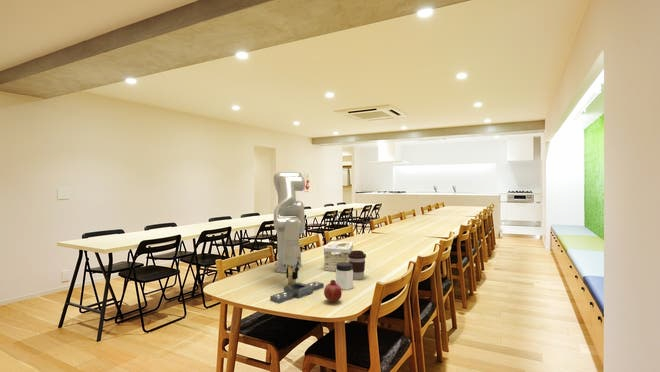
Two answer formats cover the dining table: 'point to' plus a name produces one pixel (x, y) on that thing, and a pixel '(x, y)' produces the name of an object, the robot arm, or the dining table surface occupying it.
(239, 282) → the dining table surface
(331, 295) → the fruit
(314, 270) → the dining table surface
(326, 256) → the storage basket
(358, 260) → the coffee cup
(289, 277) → the pin
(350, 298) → the dining table surface
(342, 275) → the jar
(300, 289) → the grey socket base
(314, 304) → the dining table surface
